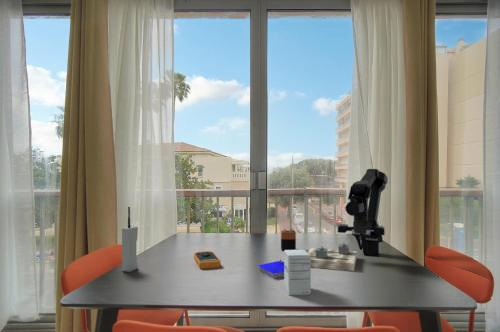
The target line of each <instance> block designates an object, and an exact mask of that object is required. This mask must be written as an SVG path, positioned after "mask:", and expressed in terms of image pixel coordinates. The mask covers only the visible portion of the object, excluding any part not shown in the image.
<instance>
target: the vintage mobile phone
mask: <svg viewBox="0 0 500 332" xmlns="http://www.w3.org/2000/svg"><path fill="white" fill-rule="evenodd" d="M127 216H128V217H127V226H125V227H122V228H121V271H122V272H127V273H129V272H133V271H135V270H138V269H139V263H138V261H137V257H138V256H137V254H138V253H137V241H138V232H139V227H138V226H135V225H134V226H132V225H131V208H130V206H128V208H127Z"/></svg>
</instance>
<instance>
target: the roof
mask: <svg viewBox="0 0 500 332" xmlns="http://www.w3.org/2000/svg"><path fill="white" fill-rule="evenodd" d="M256 266H257V267H258V268H259V271H260V272H261V273H263V274H265V275H267V276H269V277H271V278H273V279H278V278H284V260H283V261H282V259H279V260H277V261H272V262H268V263H262V264H257V265H256Z"/></svg>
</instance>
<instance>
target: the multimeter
mask: <svg viewBox="0 0 500 332" xmlns="http://www.w3.org/2000/svg"><path fill="white" fill-rule="evenodd" d="M193 259H194V260H195V262H196V264H197V265H198V267H199V269H200V270H208V269H209V270H210V269H211V270H212V269H218V268H220V267H221V259H220V258H219V257H218V256H217V255H216V254H215V252H214V251H211V250H203V251H201V250H200V251H195V252H193Z"/></svg>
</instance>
